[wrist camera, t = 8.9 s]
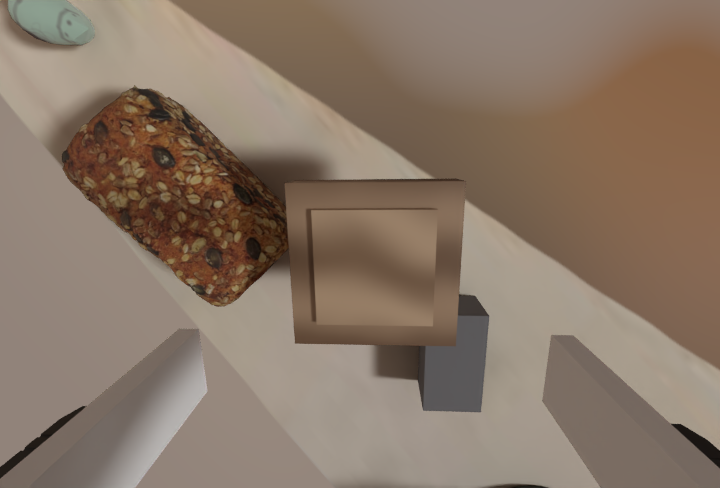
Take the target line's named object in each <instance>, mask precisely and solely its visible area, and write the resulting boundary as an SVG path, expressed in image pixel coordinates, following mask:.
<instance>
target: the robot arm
mask: <svg viewBox="0 0 720 488" xmlns="http://www.w3.org/2000/svg"><path fill="white" fill-rule="evenodd" d="M206 392H207V386H206V378H205V371H204V363H203V356H202V349H201V342H200V335H199V329H179V330H177V331H176V332H175V333H174V334H173V335H172V336H170V337H169V338H168V339H167V340H165V341H164V342H163V343H162V344H161V345H159V346H158V347H157V348H156V349H155V350H153V352H151V353H150V354H149V355H147V356H146V357H145V358H144V359H143V360H142V361H140V362H139V363H138V364H137V365H135V366H134V367H133V368H132V369H131V370H130V371H128V372H127V373H126V374H125V375H124V376H122V377H121V378H120V379H119V380H118V381H116V382H115V383H114V384H113V385H112V386H110V387H109V388H108V389H107V390H106V391H104V392H103V393H102V394H101V395H100V396H98V397H97V398H96V399H95V400H94V401H93V402H91V403H90V404H89V405H88V406H82V407H80V408H79V409H77V410H75V411H73V412H72V413H70V414H68V415H67V416H64V417H63V418H61V419H59V420H58V421H57V422H56V423H54V424H53V425H52V426H51V427H49V428H48V429H47V430H46V431H44V432H43V433H42V434H41V436H40V437H37V438H36V439H35V440H33V441H32V442H31V443H30V444H29V445H27V446H26V447H25V449H24V451H20V452H19V453H17V454H16V455H15V456H13V457H12V458H11V459H10V460H9V461H7V462H6V463H5V464H4V465H2V466H1V467H0V488H135V487H136V486H137V484H138V483H139V482H140V480H141V479H142V478H143V476H144V475H145V474H146V472H147V471H148V470H149V468H150V467H151V466H152V464H153V463H154V462H155V460H156V459H157V458H158V456H159V455H160V454H161V452H162V451H163V449H164V448H165V447H166V445H167V444H168V443H169V442H170V440H171V439H172V438H173V436H174V435H175V434H176V432H177V431H178V430H179V428H180V427H181V426H182V424H183V423H184V422H185V420H186V419H187V418H188V416H189V415H190V414H191V412H192V411H193V410H194V408H195V407H196V406H197V404H198V403H199V402H200V400H201V399H202V397H203V396H204V395H205V394H206ZM542 401H543V403H544V404H545V405H546V407H547V408H548V410H549V411H550V413H551V414H552V416H553V417H554V419H555V420H556V422H557V423H558V425H559V426H560V428H561V429H562V431H563V432H564V434H565V435H566V437H567V438H568V440H569V441H570V443H571V444H572V446H573V447H574V449H575V450H576V451H577V453H578V454H579V456H580V457H581V459H582V460H583V462H584V463H585V465H586V466H587V468H588V469H589V471H590V472H591V474H592V475H593V477H594V478H595V480H596V481H597V483H598V484H599V486H600V487H601V488H720V450H718V449H717V448H716V447H715V446H714V445H713V444H711V443H710V442H709V441H708V440H706V439H705V438H703V437H701V436H700V435H698V434H696V433H695V432H693V431H691V430H690V429H688V428H686V427H685V426H683V425H681V424H670V423H669V422H668V421H667V420H666V419H665V418H664V417H662V416H661V415H660V414H659V413H658V412H657V411H656V410H655V409H654V408H653V407H651V406H650V405H649V404H648V403H647V402H646V401H645V400H644V399H643V398H642V397H640V396H639V395H638V394H637V393H636V392H635V391H634V390H633V389H632V388H631V387H629V386H628V385H627V384H626V383H625V382H624V381H623V380H622V379H621V378H620V377H618V376H617V375H616V374H615V373H614V372H613V371H612V370H611V369H610V368H608V367H607V366H606V365H605V364H604V363H603V362H602V361H601V360H600V359H599V358H597V357H596V356H595V355H594V354H593V353H592V352H591V351H590V350H589V349H588V348H586V347H585V346H584V345H583V344H582V343H581V342H580V341H579V340H578V339H577V338H575V337H574V336H571V335H551V341H550V348H549V356H548V363H547V370H546V378H545V385H544V392H543V400H542ZM517 488H542V487H533V486H527V487H517Z"/></svg>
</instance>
